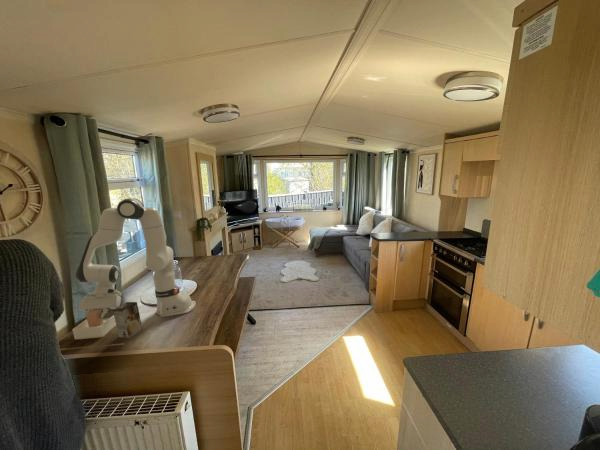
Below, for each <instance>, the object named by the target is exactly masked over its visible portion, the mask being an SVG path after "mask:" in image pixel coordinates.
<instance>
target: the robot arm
mask: <svg viewBox="0 0 600 450" xmlns="http://www.w3.org/2000/svg"><path fill="white" fill-rule="evenodd" d="M128 219H129V220H136V221H137V220H139V222H140V225H141V229H142V234H143V237H144V241H145V255H146V259H145V260H146V261H145V266H146V268H147V269H148V270H149V271H150V272H151V271H152V272H153V283H154V288H155V290H154V294H155V298H156V312H155V314H156V315H158V316H160V318H166V317H171V316H177V315H182V314H188V313H189V312H190V313H191V311H192V310H194V308H196V301H195V300H192V298H191V296H190V295H189V294H188V293H185V292H183V291H180V289H181V285H179V286H177V285H176V281H175V272H174V271H175V264H174V263H175V261H174V250H173V248H172V247H171V246H168V245H167V234H166V231H165V225H164V223H163V219H162V216H161V214H160V211H159V210H158V209H157V208H156V207H150V206H149V207H145V206H144V204H143V202H142V201H141V200H140V199H138V198H135V197H128V198H125V199H122V200H121V201H119V203H117V206H116V207H115V208H113V207H108V208H106V209H105V208H104V210H103V211H102V213H101V216H100V218H99V222H98V227H97V231H96V233H95V234H94V235H93V234H92V235H91V236H90V237H89V239H88V240H87V243H86V245H85V247H84V251H83V254H82V256H81V259H80V262H79V265H78V266H77V269H76V271H75V278H76V279H77V280H78V281H79V282H81V283H97V284H96V286H95V289H94V291H93V293H92V294H86V295H84V296H83V297H82V299H81V301H80V303H79V304H78V307H77V309H78V311H80V312H87V314H88V313H89V312H91V311H94V310H101V314H100V315H99V318H102V319H104V317H105V315H106V314H107V313H108V311H109V310H114V309H116V308H118V307H119V306H121V302H122V295H123V293H122V292H121V291H119V290H117V289H116V288H115V287H116V286H115V285H116V284H117V281H118V279H119V277H120V268H119V267H118V266H116V265H115V264H97V263H93V261H92V260H93V258H94V255H95V252H96V250H97V249H98V248H100V247H103V246H108V245H109V246H110V245H112V244H115V243H117V242H118V241H119V240H121V238H122V236H123V231H124V223H125V221H126V220H128Z"/></svg>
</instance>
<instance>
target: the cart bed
mask: <svg viewBox="0 0 600 450" xmlns="http://www.w3.org/2000/svg"><path fill="white" fill-rule="evenodd" d="M114 327H115V328H116V327H117V326H116V322H115V317H114V314H113V315H112V316H111V317H109V319H108V320H107V321H106V322H104V323H103V324H102V325H101V326H96V327H89V326H88V322H87V318H86V319H85V320H83V321H82V322H80V323H78V325H76V326H75V327H73V328H72V329H71V330H72V334H73V337H74V340H84V339H93V338H94V339H97V338H104V337H105V336H106V334H108V333H109V332H111V330H112V329H114Z"/></svg>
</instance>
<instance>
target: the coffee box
mask: <svg viewBox="0 0 600 450" xmlns="http://www.w3.org/2000/svg"><path fill="white" fill-rule="evenodd" d="M112 311H113V312H112V313H113V315H114V317H115V322H116V326H115V327H116V329H117V335H118V338H127V339H128V340H129V339H131V338H132V337H134V336H135V335H136V334H137V333H139V332H140V331H141V330H143V326H142V319H141V315H140V312H139V311H140V310H139V307H138V301H127V302H125V303H123V304H120V306H119V307H118V308H116V309H112Z"/></svg>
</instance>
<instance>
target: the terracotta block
mask: <svg viewBox="0 0 600 450" xmlns="http://www.w3.org/2000/svg"><path fill="white" fill-rule="evenodd" d="M101 313H102V310H94V311H91V312H89V313H87V314H85V317H86V319H87V322H88V326H89V327H96V326H101V325H102V324H103V319H104V318H99V315H100V314H101Z"/></svg>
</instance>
